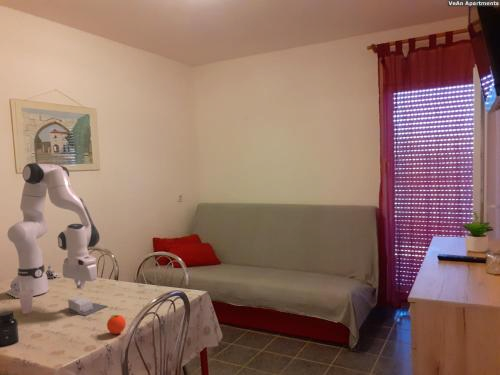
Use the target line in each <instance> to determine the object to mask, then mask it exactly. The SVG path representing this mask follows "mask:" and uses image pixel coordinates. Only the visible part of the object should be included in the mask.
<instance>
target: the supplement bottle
mask: <svg viewBox="0 0 500 375" xmlns="http://www.w3.org/2000/svg"><path fill="white" fill-rule="evenodd" d="M14 316H15V315H14V311H13V310H5V311H3V312H0V348H5V347H10V346H13V345H16V344H17V343H19V342H20V341H19V338H20V336H19V327H18V319H17V318H15V317H14Z"/></svg>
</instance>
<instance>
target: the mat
mask: <svg viewBox="0 0 500 375" xmlns="http://www.w3.org/2000/svg"><path fill="white" fill-rule="evenodd" d="M92 308H93V309H92V310H89V311H87V312H83V313H78V312H76V311H74V310H72V309H70V308H69V310H66V312H67V313H70V314H76V315H80V316H83V317H87V316H89V315H91V314H94V313H96V312H99V311H101V310H103V309H105V308H108V305H106V304H105V305H104V304H100V303H96V302H95V303H94V302H92Z"/></svg>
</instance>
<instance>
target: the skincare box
mask: <svg viewBox="0 0 500 375" xmlns="http://www.w3.org/2000/svg"><path fill="white" fill-rule="evenodd" d="M67 302H68V308H69V310H70V309H72V310H74V311H76V312H78V313H83V312H87V311H89V310H92V309H93V308H92V303H93V301H92V300H91V299H89V298H86V297H83V296H81V295H77V296H74V297H73V296H72V297H71V298H68V299H67Z"/></svg>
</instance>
